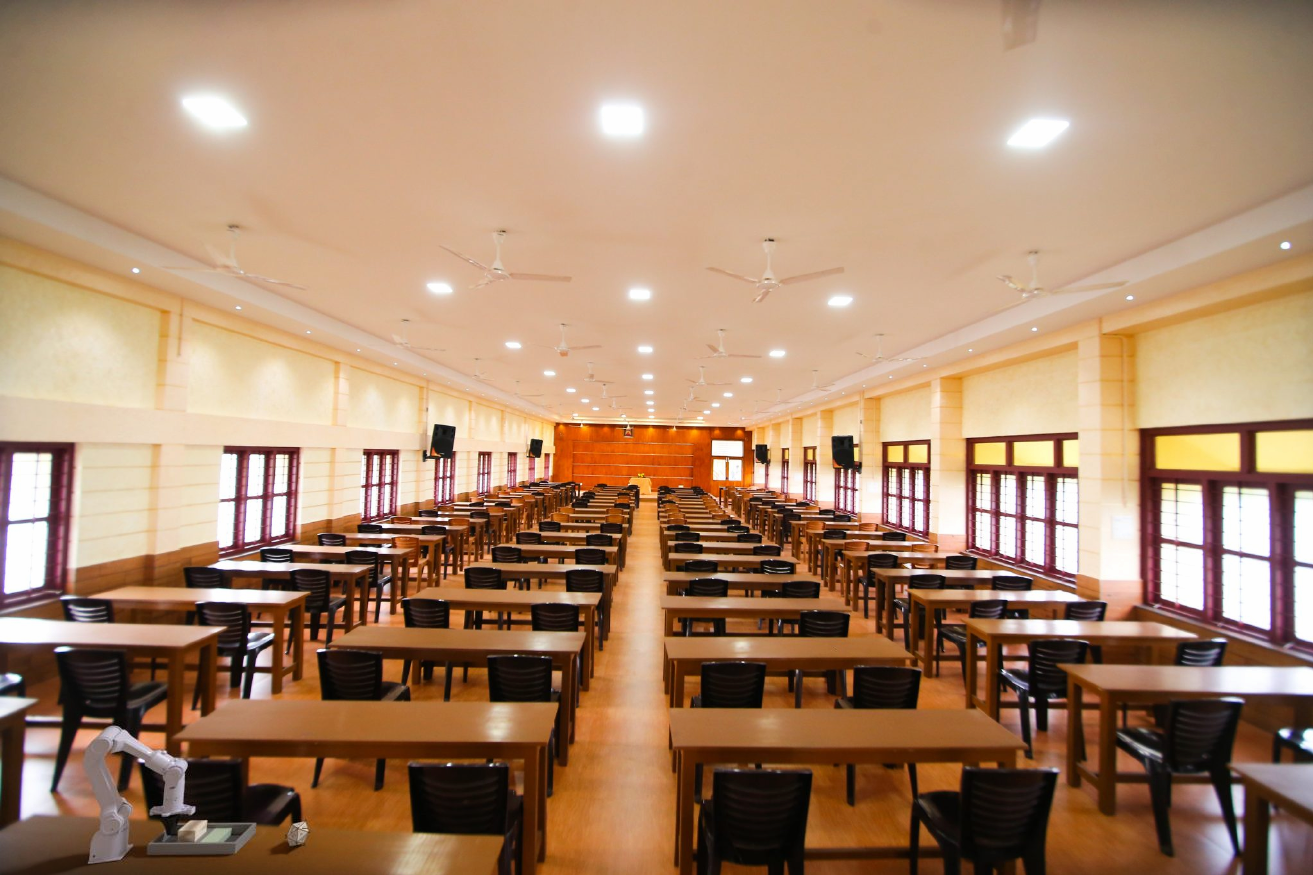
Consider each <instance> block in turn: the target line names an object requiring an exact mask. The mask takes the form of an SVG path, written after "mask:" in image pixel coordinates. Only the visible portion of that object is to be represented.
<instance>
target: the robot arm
mask: <svg viewBox="0 0 1313 875" xmlns="http://www.w3.org/2000/svg"><path fill="white" fill-rule="evenodd" d="M122 751H123V752H126V753H128V754H130V755H132V756H134V757H136V758H138V759H141V760H143V761H144V767H147V768H149V769H151V770H152V771H153V772H155V773H157V774H160V775H162V780H163V781H164V782H165V783H164V792H163V803H162V805H161V806H159V805H158V806H153V807H152V808H151V809H149V816H153V815H161V817H160V819H159V821H160V822H161V824H162V826H163V827H164V831H165V830H166V834H167V836H171V835H172V834H173V833H174V832H175V829H176V827H177V824H178V823H180V820H181V818H182V816H183V815H188V816H192V815H193V814H194V813H195V812H196V806H194V805H193V806H191V805H188V804H184V796H185V794H184V793H185V783H186V781H185V780H186V779H185V777H186V776H185V775H186V773H185V772H186V770H187V769H188V766H189V765H188V762H187V760H186V759H185V758H177V757H173V756H172V755H170V754H168V750H161V749H158V750H157V749H156V750H153V749H151V747H148V746H147V745H145V744H143V743H142V742H140V740H137V739H136V738H135V737H133V736H132V735H131V734H130V733H129V732H128V731H127V730H126V729H122V728H121V727H120V726H117V725H111V726H110V725H109V726H107V727H106V728H104V729H103V730H102V731H101V732H100V733H99V734H98V735H97V736H96V737H95V738H94V739H93V740H92V741H90V743H89V744H88V746H86V748H85V754H84V755H83V756H84V757H83V759H82V762H81V763H82V767H83V769H84V772H85V774H86V777H87V779H88V782H89V783H90V784H89V785H90V786H91V789H92V791H93V794H94V796H95V798H96V800H97V803H98V806H99V807H100V811H99V812H100V813H99V818H98V819H99V821H100V824H99V830H97V831H96V832H95V833H94V835H93V836H92V838H91V841H90V847H89V848H90V849H89V859H88V861H87V864H88V865H89V864H90V865H91V864H97V863H98V864H99V863H106V862H112V861H113V862H114V861H121V859H123V858H124V856H126V855H127V853H128V852H129V851H130V850H131V849H132V848H133V847H134V844H133V843H132V844H129V835H130V834H129V833H130V832H129V831H130V821H129V818H130V816H131V815H132V813H133V810H134V809H133V806H132V804H131V803H129V802H128V801H127V800H126V798H125V797H121V795H120V794H119V791H118V789H117V787H116V784H115V781H114V778H113V777H112V774H111V772H110V769H109V767H108V765H107V762H106V760H105V757H107V755H108V753H109V752H110V754H113V753H116V752H117V753H118V752H122Z"/></svg>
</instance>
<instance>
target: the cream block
mask: <svg viewBox="0 0 1313 875" xmlns="http://www.w3.org/2000/svg"><path fill="white" fill-rule="evenodd" d="M207 823H208V820H207V819H206V820H199V819H198V820H196V819H195V820H189V821H188V822H187V824H186V825H184V826H183V827H182V828H181V829H180V830H178V840H177V842H195V841H196V840H197V839H199V838H200V837H201V836H202V835H203V834H204V833H205V832H206V830H207Z"/></svg>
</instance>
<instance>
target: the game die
mask: <svg viewBox="0 0 1313 875" xmlns="http://www.w3.org/2000/svg"><path fill="white" fill-rule="evenodd" d="M307 821H308V818H306V819H305V820H304V821H301V822H299V821H298V822H296V823H292V822H290V827H289V829H288V831H287V834H285V835H284V839H286V840H287V843H288V845H289V846H288V848H287V849H288V850H289V849H290V848H291V847H294V846H298V845H299V846H300V845H302V844H303V846H306V843H305V842H306V840H307V838H308V836H309V833H311V832H312V831H311V830H308V829H302V828H309V826H308V823H307Z"/></svg>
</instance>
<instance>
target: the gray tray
mask: <svg viewBox="0 0 1313 875" xmlns="http://www.w3.org/2000/svg"><path fill="white" fill-rule="evenodd" d="M187 823H188V822H187ZM187 823H186V822H185V823H180V822H178V824H177V827H176V829H175V832H174V833H173V834H172V835H171V836H167V834H166V830H165V829H164V830H163V831H162V832H160V834H157V836H156V837H155V838H153V839H152V840H151V841H150V842H149V843H148V844H147V848H146V855H147V856H165V855H166V856H170V855H171V856H175V855H176V856H178V855H180V856H181V855H184V856H185V855H192V856H193V855H236V854H237V853H238V851H240V849H241V848H243V846H244V845H245V844H247V842H248V841H249V840H250V839H252V837H253V836H254V835H255V834H256V833H257V832H256V830H257V822H210V823H209V822H207V830H206V832H205V833H204V834H203V835H202V836H201V837H200V838H199V839H197V840H196V841H195V842H177V840H178V830H180V829H181V828H182V827H183V826H184V825H186V824H187ZM249 826H250V827H249ZM255 827H256V828H255ZM252 835H253V836H252Z"/></svg>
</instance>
